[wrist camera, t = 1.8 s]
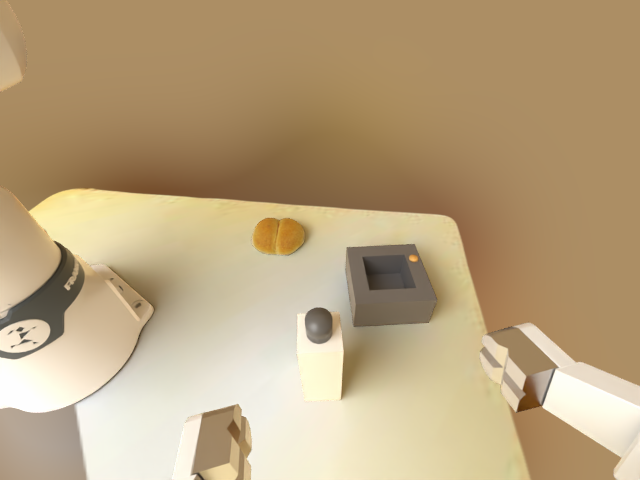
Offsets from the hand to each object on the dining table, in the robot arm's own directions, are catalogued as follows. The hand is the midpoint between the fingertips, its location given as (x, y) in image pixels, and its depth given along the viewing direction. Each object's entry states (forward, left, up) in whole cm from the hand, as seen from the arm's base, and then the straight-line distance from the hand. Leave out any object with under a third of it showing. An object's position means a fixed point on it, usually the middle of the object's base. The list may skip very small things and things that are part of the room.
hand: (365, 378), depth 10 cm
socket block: (-12, +21, -25) cm, 35 cm away
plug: (-9, +6, -25) cm, 28 cm away
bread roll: (-32, +16, -26) cm, 44 cm away
